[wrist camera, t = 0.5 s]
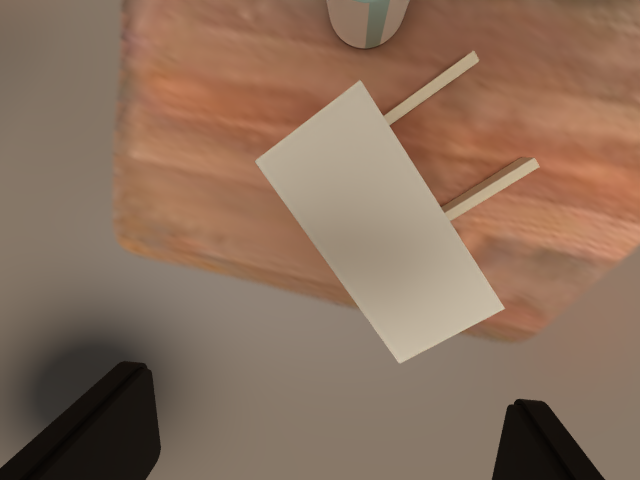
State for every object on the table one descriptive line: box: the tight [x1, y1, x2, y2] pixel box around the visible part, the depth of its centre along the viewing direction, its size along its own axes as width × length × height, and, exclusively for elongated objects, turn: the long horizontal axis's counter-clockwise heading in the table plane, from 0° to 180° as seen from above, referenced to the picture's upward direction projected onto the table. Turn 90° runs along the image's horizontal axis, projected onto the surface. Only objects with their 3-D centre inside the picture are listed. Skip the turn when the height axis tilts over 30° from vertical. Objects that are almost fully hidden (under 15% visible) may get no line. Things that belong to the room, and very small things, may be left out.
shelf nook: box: [255, 51, 539, 364], centre depth 26 cm, size 18×15×17 cm
